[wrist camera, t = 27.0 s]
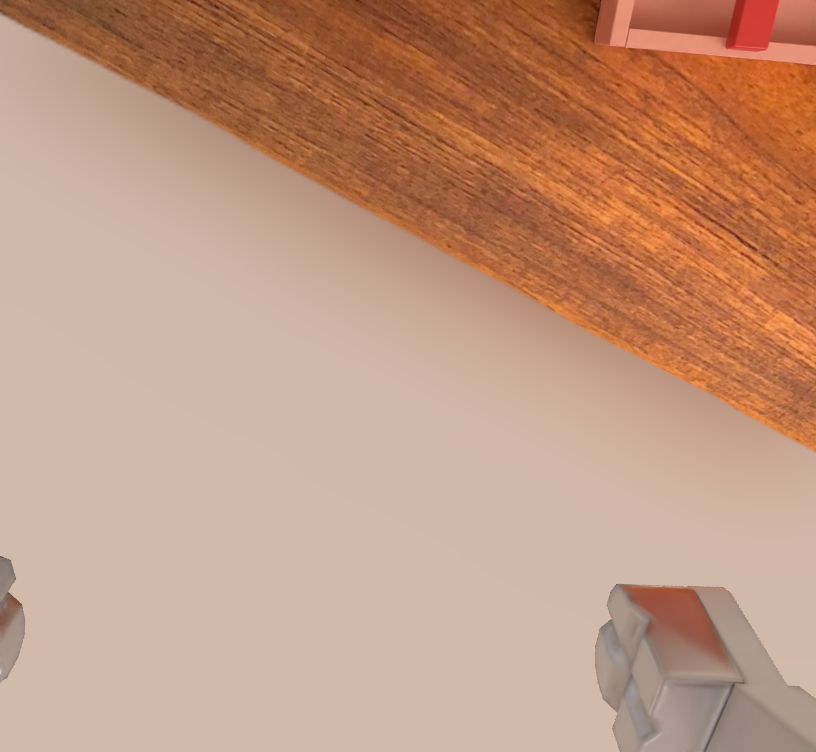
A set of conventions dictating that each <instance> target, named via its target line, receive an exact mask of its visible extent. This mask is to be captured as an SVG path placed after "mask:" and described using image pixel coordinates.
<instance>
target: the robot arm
mask: <svg viewBox="0 0 816 752" xmlns="http://www.w3.org/2000/svg"><path fill="white" fill-rule="evenodd" d="M15 580H16V577H15V573H14V570H13V567H12V564H11V560H9V559H7V558H4V557H2V556H0V682H2V681H3V680H4V679H6V678H7V677H8V675H9V673H10V671H11V670H12V668H13V666H14V664H15V662H16V661H17V659H18V656H19V652H20V649H21V645H22V642H23V639H24V634H25V616H24V611H23V607H22V604H21V603H20V602H19V601H18V600H17V599H15V598H14V597H13V596H12V595H11V594H10V593H9V592H8V590H9V589H10V588H11V586H12V584H13V583H14V581H15ZM607 607H608V610H609V613H610V615H611V618H612V619H611V620H610V621H608V622H607V623H606V624H605V625H603V626H602V627H601V628H600V630H599V634H598V638H597V642H596V646H595V647H596V648H595V649H596V651H595V668H596V673H597V680H598V684H599V688H600V691H601V694H602V698H603V699H604V700H605V701H606V702H607V703H608V704H609V705H610V706H611V707H612V708H613V709H614V710H615V711H616V712H617V716H616V719H615V722H614V725H613V732H614V735H615V738H616V741H617V744H618V748H619V751H620V752H816V699H815V698H814V697H813V696H811V695H810V694H809V693H807V692H806V691H805V690H803V689H802V688H800V687H799V686H788V685H787V684H786V682H785V681H784V679H783V677H782V676H781V674H780V673H779V671H778V669H777V668H776V666H775V664H774V663H773V661H772V659H771V658H770V656H769V655H768V653H767V651H766V650H765V648H764V646H763V645H762V643H761V641H760V640H759V638H758V637H757V635H756V633H755V632H754V630H753V628H752V627H751V625H750V623H749V622H748V620H747V619H746V617H745V615H744V614H743V612H742V610H741V609H740V608H739V605H738V604H737V602H736V601H735V599H734V597H733V596H732V594H731V593H730V592H729V591H727V590H726V589H725V588H723V587H696V586H695V587H694V586H688V587H683V586H659V585H631V584H616V585H615V586H614V588H613V589H612V590H611V592H610V595H609V599H608V602H607Z"/></svg>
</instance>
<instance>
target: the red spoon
mask: <svg viewBox="0 0 816 752" xmlns="http://www.w3.org/2000/svg"><path fill="white" fill-rule="evenodd" d="M778 4H779V0H736V2H735V6H734V11H733V15H732V20H731V24H730V29H729V33H728V38H727V42H726V46H725V47H726V49H732V50H742V51H752V52H759V51H764V50H767V49H768V45H769V41H770V37H771V33H772V29H773V25H774V21H775V16H776V12H777V8H778Z"/></svg>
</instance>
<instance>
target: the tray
mask: <svg viewBox="0 0 816 752" xmlns="http://www.w3.org/2000/svg"><path fill="white" fill-rule="evenodd" d="M735 2H736V0H602V1H601V6H600V11H599V17H598V22H597V28H596V33H595V38H594V44H597V45H607V46H618V47H629V48H639V49H650V50H661V51H671V52H682V53H693V54H703V55H714V56H725V57H736V58H746V59H757V60H768V61H778V62H789V63H800V64H810V65H816V0H779V4H778V8H777V12H776V16H775V21H774V25H773V29H772V33H771V37H770V41H769V45H768V49H767V50H764V51H759V52H752V51H742V50H732V49H726V47H725V46H726V42H727V38H728V33H729V29H730V24H731V20H732V15H733V11H734V6H735Z"/></svg>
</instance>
